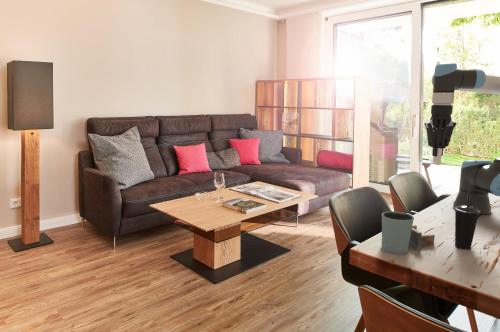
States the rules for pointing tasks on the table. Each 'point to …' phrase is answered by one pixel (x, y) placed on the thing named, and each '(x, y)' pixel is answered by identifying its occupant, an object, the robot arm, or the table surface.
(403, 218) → the blue-grey embossed pot
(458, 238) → the drinking cup
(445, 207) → the table surface
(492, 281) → the table surface
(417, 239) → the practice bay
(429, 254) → the table surface
